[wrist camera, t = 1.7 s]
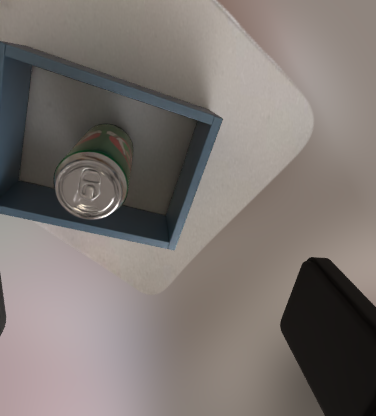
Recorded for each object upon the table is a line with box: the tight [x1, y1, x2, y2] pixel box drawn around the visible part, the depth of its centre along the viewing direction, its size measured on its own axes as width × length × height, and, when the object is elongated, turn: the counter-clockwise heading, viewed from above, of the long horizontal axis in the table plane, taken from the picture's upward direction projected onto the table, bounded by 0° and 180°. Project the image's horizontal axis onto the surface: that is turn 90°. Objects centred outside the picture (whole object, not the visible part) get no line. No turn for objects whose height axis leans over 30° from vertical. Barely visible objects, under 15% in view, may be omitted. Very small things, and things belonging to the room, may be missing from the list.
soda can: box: [54, 124, 133, 219], centre depth 25 cm, size 5×5×12 cm
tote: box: [0, 41, 223, 250], centre depth 28 cm, size 18×14×6 cm
